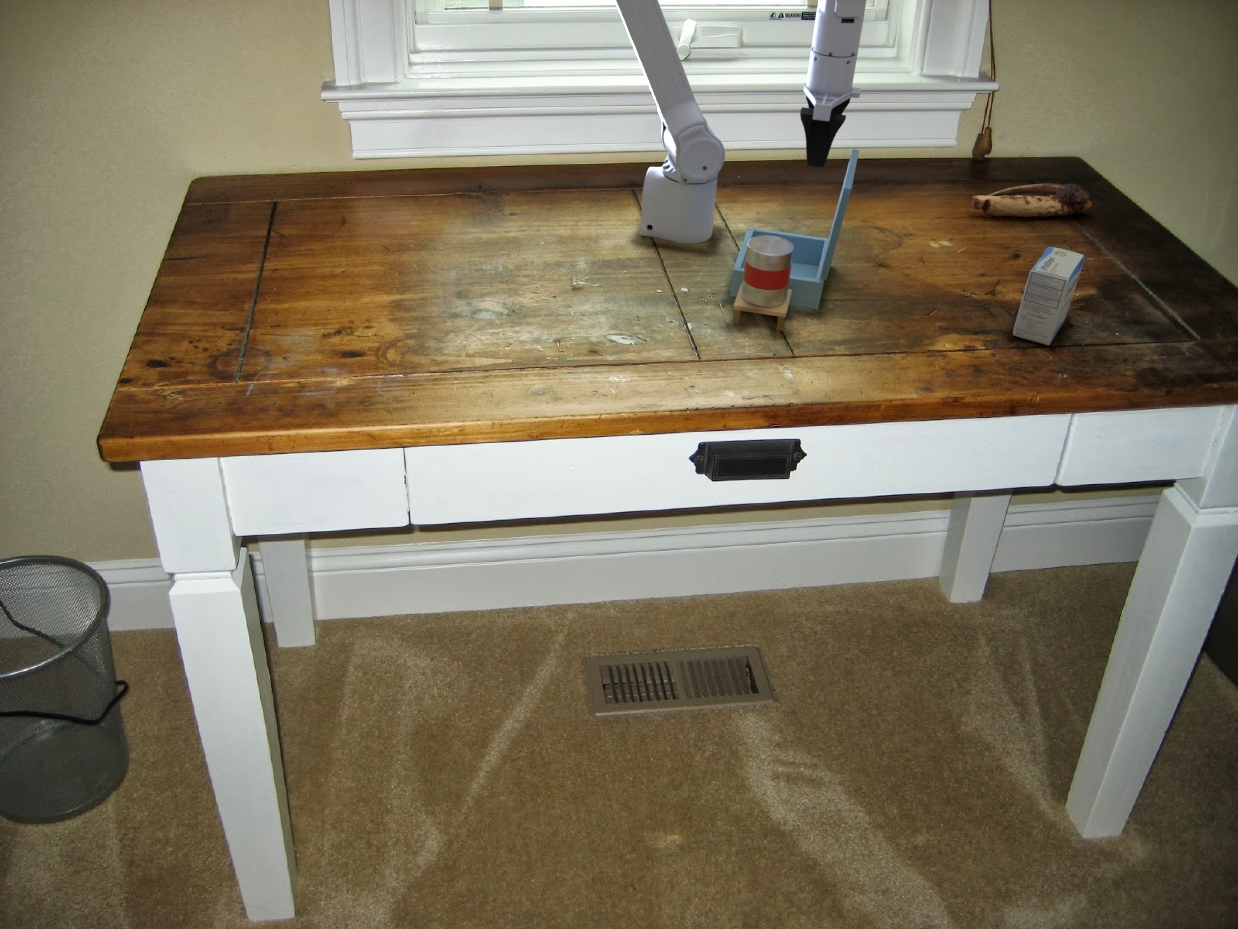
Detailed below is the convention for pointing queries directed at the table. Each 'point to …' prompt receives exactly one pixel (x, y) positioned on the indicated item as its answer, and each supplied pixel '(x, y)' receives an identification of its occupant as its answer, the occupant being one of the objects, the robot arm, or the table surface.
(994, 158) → the table surface
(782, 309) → the stool
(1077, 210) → the lashed bone hook
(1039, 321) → the medicine box
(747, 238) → the cooler
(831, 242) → the lid
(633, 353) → the table surface
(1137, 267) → the table surface
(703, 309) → the table surface
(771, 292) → the can
